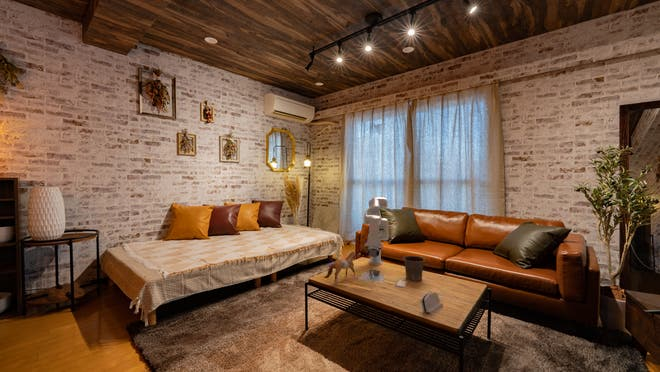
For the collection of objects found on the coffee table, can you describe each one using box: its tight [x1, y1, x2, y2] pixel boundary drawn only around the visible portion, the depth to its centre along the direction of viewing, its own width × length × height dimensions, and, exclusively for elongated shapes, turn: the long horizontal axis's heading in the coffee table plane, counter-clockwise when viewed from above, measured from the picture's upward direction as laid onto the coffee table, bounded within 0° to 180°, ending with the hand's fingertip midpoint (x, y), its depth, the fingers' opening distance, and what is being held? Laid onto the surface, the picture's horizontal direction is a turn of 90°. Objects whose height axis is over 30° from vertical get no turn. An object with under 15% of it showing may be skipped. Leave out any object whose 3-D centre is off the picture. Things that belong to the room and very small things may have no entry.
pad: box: [394, 279, 408, 289], centre depth 207 cm, size 11×11×1 cm
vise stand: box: [357, 269, 386, 284], centre depth 216 cm, size 18×18×6 cm
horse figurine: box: [323, 251, 357, 286], centre depth 211 cm, size 31×8×21 cm, turn 126°
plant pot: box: [403, 255, 425, 282], centre depth 217 cm, size 16×16×16 cm
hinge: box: [420, 291, 444, 316], centre depth 169 cm, size 17×5×10 cm, turn 133°
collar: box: [368, 248, 377, 257], centre depth 215 cm, size 6×6×5 cm
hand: (373, 254), depth 215 cm, fingers closed on collar, 6 cm apart
